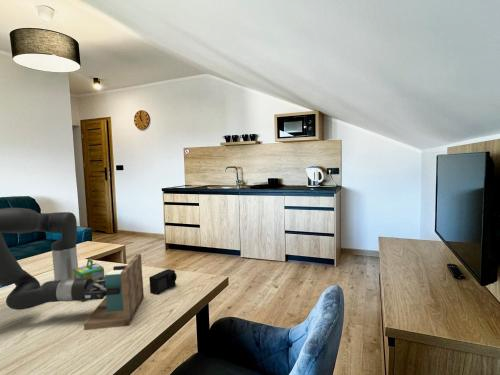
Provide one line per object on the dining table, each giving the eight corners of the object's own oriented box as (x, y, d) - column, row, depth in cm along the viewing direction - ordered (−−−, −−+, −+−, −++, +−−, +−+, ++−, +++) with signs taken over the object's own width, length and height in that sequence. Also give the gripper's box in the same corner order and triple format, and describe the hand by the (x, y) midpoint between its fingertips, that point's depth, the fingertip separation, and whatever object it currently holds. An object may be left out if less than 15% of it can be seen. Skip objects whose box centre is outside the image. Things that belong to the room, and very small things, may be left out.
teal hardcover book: (111, 305, 104) (109, 270, 103) (131, 303, 105) (129, 268, 104) (107, 311, 100) (104, 275, 99) (128, 309, 101) (125, 273, 100)
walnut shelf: (106, 300, 113) (103, 256, 111) (143, 297, 114) (140, 253, 113) (84, 329, 93) (79, 275, 91) (129, 325, 95) (125, 272, 93)
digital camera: (159, 295, 116) (158, 279, 115) (150, 293, 119) (149, 276, 118) (177, 286, 125) (176, 270, 124) (168, 283, 127) (168, 268, 127)
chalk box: (74, 296, 118) (71, 261, 117) (97, 288, 125) (95, 255, 124) (82, 302, 112) (79, 265, 111) (106, 294, 119) (103, 259, 118)
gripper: (63, 287, 93) (116, 283, 95) (83, 271, 107) (128, 268, 109) (65, 309, 94) (117, 305, 96) (85, 291, 108) (130, 287, 110)
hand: (123, 285), depth 102 cm, fingers open, 8 cm apart
